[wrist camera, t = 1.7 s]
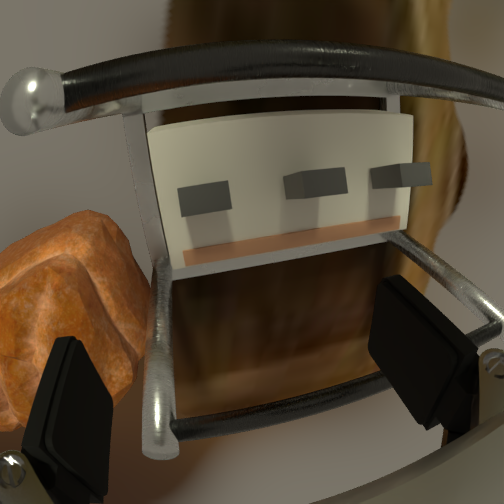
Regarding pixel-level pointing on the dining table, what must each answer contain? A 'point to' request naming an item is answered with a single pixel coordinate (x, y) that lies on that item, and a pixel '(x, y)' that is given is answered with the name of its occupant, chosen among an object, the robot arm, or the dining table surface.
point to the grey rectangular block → (204, 198)
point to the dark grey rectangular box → (315, 183)
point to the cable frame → (160, 303)
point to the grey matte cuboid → (401, 175)
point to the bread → (69, 307)
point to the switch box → (278, 180)
